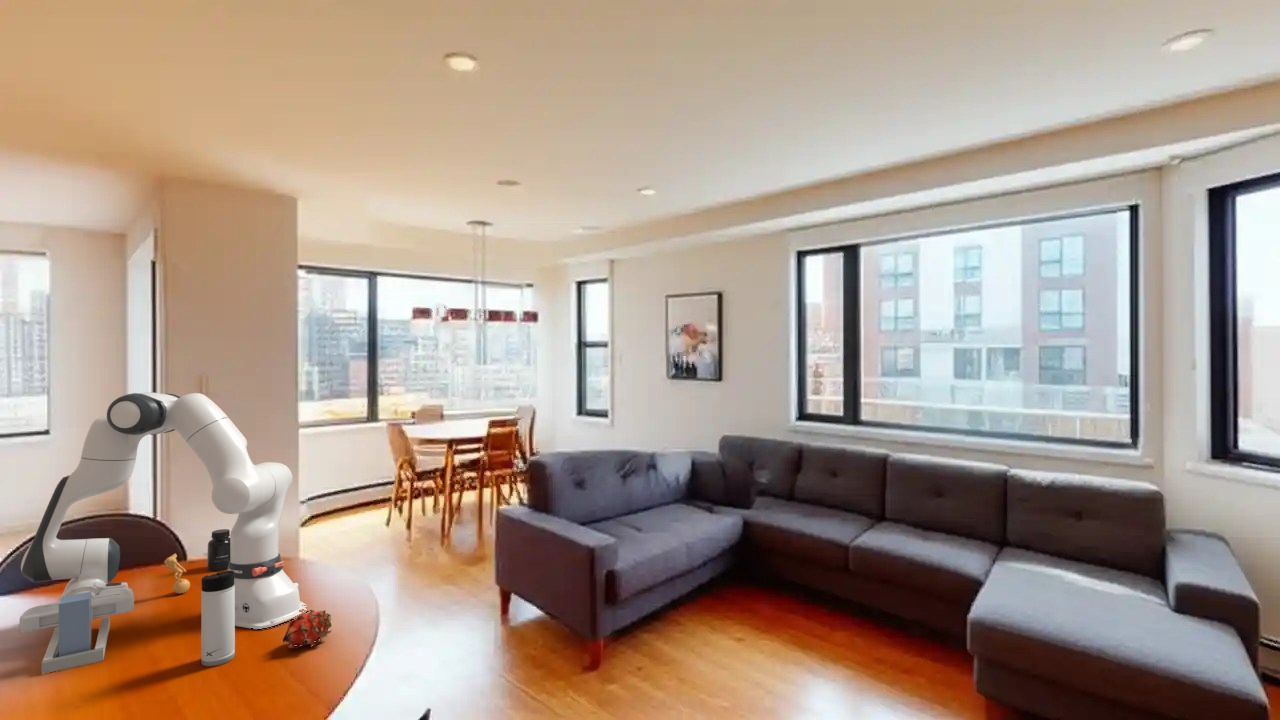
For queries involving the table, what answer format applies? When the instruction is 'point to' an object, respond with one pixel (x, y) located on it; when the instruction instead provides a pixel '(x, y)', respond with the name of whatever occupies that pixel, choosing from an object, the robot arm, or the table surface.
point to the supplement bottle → (219, 550)
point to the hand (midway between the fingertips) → (76, 621)
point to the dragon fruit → (307, 628)
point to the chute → (77, 659)
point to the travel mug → (218, 618)
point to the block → (74, 624)
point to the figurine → (180, 584)
